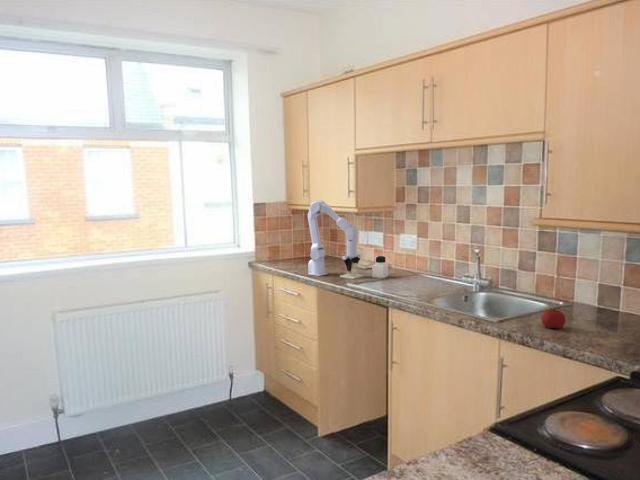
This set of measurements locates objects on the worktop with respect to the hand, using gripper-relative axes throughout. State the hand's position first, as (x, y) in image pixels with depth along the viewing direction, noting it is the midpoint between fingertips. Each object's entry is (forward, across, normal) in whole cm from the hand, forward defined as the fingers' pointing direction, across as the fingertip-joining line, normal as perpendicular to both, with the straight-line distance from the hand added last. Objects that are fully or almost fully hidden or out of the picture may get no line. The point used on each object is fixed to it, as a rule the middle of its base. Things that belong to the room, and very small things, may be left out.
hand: (351, 270), depth 291 cm
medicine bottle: (+4, +10, -13) cm, 17 cm away
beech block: (+2, 0, 0) cm, 2 cm away
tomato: (+4, -34, -122) cm, 127 cm away
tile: (+4, 0, 0) cm, 4 cm away
